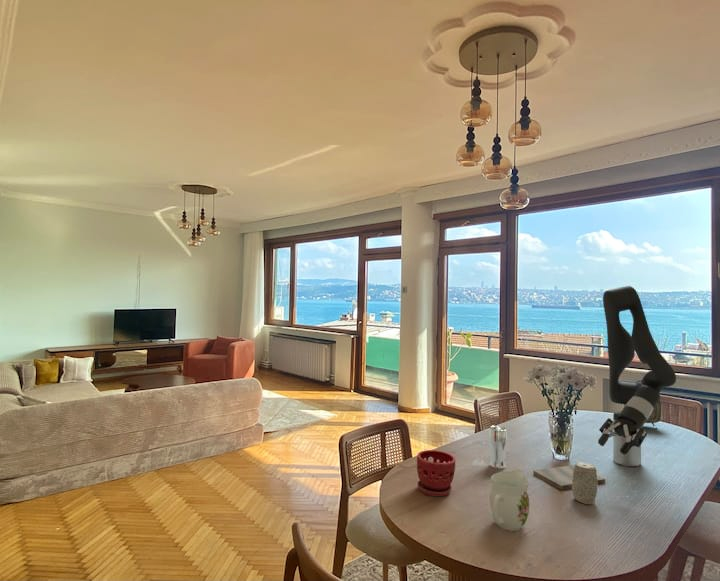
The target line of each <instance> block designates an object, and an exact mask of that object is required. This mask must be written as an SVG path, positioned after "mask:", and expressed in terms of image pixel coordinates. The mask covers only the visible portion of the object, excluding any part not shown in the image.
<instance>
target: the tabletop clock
mask: <svg viewBox="0 0 720 581" xmlns="http://www.w3.org/2000/svg"><path fill="white" fill-rule="evenodd" d="M641 381H642V379H641V380H638V381H636V382H635V383H637V384H638V383H641ZM661 415H662V405H661V399H660V400H659V402H658V403H657V405H656V406H655V407H654V409H653V411H652V413H651V415H650V416H649V418H648V419H647V421H646V422H645V424H652V426H653V427H654V426H656V425H655V424H656V423H659V422H660V420H661Z"/></svg>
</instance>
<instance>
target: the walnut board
mask: <svg viewBox="0 0 720 581" xmlns="http://www.w3.org/2000/svg"><path fill="white" fill-rule="evenodd" d="M574 467H575V464H572V465H564V466H558V467H549V468H542V469H534V470H532V471H533V475H534V476H535V475H536V477H537V476H538V477H537V478H539V477H540V478H539V479H542V480H543V481H544V480H545V481H544V482H546V481H547V482H546V483H547V484H549V485H552V486H553V485H554V487H556V489H558V490H561V491H563V490H569V489H571V490H572V481H573V471H574ZM597 483H598V484H597V485H601V484H606V479H605V478H603V477H601V476H600V475H597Z"/></svg>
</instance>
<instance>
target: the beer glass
mask: <svg viewBox="0 0 720 581" xmlns="http://www.w3.org/2000/svg"><path fill="white" fill-rule="evenodd" d="M507 430H508V429H507V428H506V427H504V426H500V425H492V426H489V432H488V445H489V449H490V461H489V465H490V467H491V466H492V467H491V468H493V467H494V469H497V468H498V470H500V469H501V470H503V469H506V467H507V465H506V464H507V463H506V452H507V447H508V432H507Z"/></svg>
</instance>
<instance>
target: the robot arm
mask: <svg viewBox="0 0 720 581" xmlns="http://www.w3.org/2000/svg"><path fill="white" fill-rule="evenodd" d="M602 304H603V311H604V316H605V322H606V323H605V324H606V333H607V334H606V336H607V353H608V354H607V355H608V357H607V358H608V366H609V378H608V379H609V380H608V382H609V383H608V384H609V385H608V386H609V387H608V388H609V391H608V392H609V399H610V402H612V403H613V404H619V405H620V404H621V405H624V407H623V408H622V409H621V410H618V411H615V412H613V415H612V416H613V420H612V418H610V417H608V418H607V419H606V420H605V421H604V423H603V424H602V425H601V426H600V428H598V430H599V432H600V433H601V436H600V437H599V438H598V439H597V440H598V441H597V443H598V445H599V446H601V447H605V444H606V443H607V442H608V440H609V438H612V437H613V438H612V439H613V440H612V441H613V446H612V451H613V453H612V454H613V456H612V457H613V458H612V459H613V462H614V463H616V464H619V465H620V464H621V465H622V466H624V467H630V466H637V467H639V466H640V465H641V464H642V443H644V441H645V438H646V437H647V436H648V433H647V432H646V430H645V429H644V428H643V427H644V426H645V424H646V423H645V422H646V421H647V419H648V418H649V416H650V415H651V413H652V411H653V409H654V407H655V406H656V405H657V403H658V402H659V400H660V401H661V394H660V392H661V391H662V390H663V389H665V388H668V387H672V386H673V385H675V383H676V382H677V376H676V371H675V370H674V369H673V367H672V366H671V365H670V363H669V362H668V361H667V359H665V357H664V356H663V355H662V354H661V352H660V350H659V348H658V345H657V343H656V341H655V340H654V337H653V336H652V334H651V330H650V327H649V324H648V321H647V317H646V314H645V311H644V308H643V305H642V301H641V299H640V296H639V293H638V291H636V289H635V288H634V287H633V286H632V285H623V286H619V287H615V288H610V289H606V290H605V291H604V293H603V297H602ZM625 311H629V312H630V315H631V316H632V321H633V322H632V331H631V333H630V332H628V330H627V329H626V328H625V327H624V326H623V324H622V323H621V319H620V312H625ZM635 355H637V358H638V359H639V361H640V362H641V363H642V364H647V365H648V367H649V368H650V370H648V371H647V372H646V373H645V375H644V376H643V378H642V379H641V380H642V381H641V382H640V383H639V384H638V383H636V382H629V381H628V382H627V381H619V378H620V377H621V375H622V374H623V372H624V371H625V369H626V368H627V367H628V366H630V364H631V363H632V361H633V360H634V358H635Z"/></svg>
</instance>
